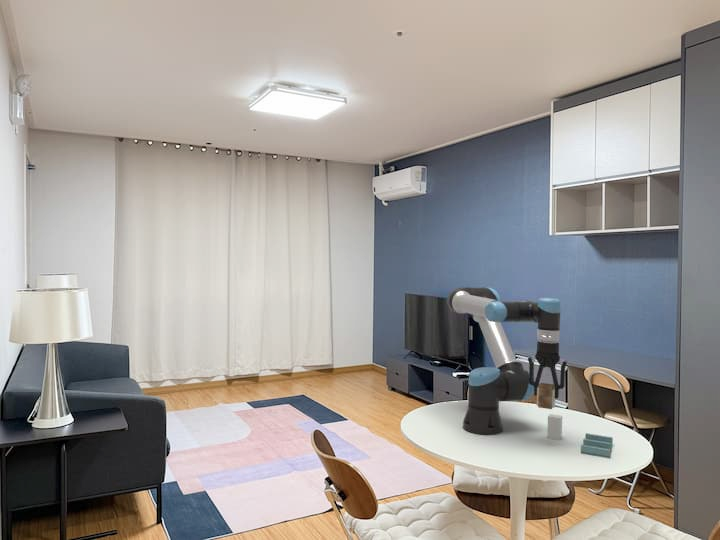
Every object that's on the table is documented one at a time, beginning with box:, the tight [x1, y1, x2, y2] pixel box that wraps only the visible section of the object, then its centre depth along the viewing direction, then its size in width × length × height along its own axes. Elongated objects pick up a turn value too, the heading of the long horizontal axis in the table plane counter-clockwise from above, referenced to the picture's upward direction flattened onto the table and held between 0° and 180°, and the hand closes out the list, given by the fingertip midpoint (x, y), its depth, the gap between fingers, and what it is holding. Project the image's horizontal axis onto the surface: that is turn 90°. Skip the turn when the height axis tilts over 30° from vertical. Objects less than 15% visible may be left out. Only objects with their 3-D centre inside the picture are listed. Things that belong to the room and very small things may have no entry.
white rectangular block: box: [546, 413, 563, 441], centre depth 204 cm, size 4×4×8 cm
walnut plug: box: [537, 382, 554, 410], centre depth 197 cm, size 4×4×8 cm
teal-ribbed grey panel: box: [580, 432, 614, 459], centre depth 193 cm, size 9×16×3 cm, turn 152°
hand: (545, 405), depth 197 cm, fingers closed on walnut plug, 4 cm apart
